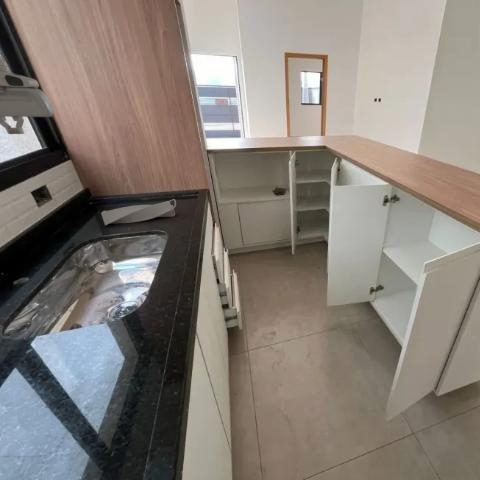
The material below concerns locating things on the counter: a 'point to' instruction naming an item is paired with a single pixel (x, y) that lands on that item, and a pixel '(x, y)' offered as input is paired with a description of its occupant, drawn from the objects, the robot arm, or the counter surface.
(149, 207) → the grey twisted bar
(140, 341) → the counter surface
